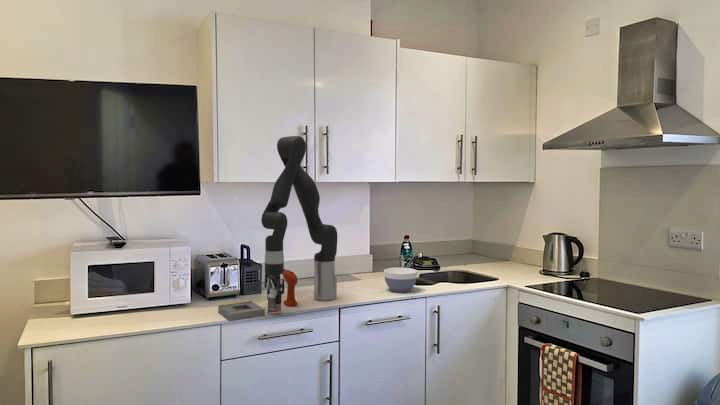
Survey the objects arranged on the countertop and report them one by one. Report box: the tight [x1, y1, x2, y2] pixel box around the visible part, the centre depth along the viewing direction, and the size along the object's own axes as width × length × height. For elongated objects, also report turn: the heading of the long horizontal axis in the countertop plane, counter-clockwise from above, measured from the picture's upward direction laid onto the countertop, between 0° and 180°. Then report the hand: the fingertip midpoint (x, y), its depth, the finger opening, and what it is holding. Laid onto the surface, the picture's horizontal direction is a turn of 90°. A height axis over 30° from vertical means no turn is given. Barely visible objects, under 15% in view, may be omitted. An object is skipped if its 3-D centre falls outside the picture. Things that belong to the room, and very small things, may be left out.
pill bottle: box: [267, 288, 282, 315], centre depth 203 cm, size 5×5×10 cm
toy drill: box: [282, 268, 299, 308], centre depth 219 cm, size 5×19×15 cm, turn 29°
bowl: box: [383, 267, 418, 293], centre depth 243 cm, size 16×16×10 cm
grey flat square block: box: [217, 300, 266, 322], centre depth 201 cm, size 14×14×3 cm
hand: (274, 301), depth 203 cm, fingers open, 8 cm apart
